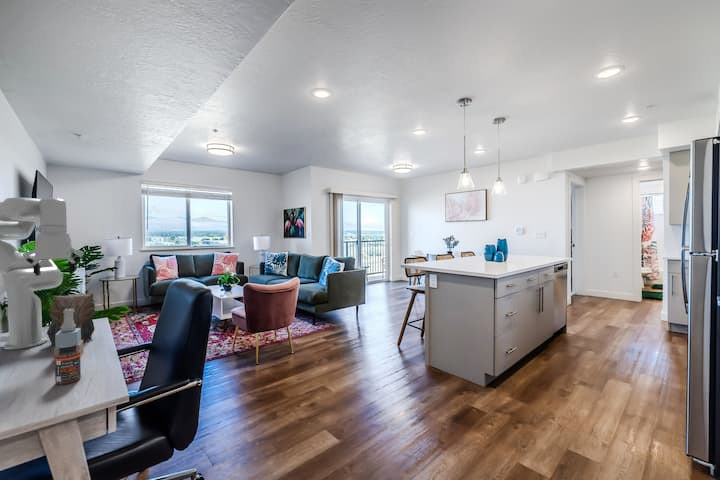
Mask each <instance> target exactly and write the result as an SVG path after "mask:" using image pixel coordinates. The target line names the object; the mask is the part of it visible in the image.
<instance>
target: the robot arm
mask: <svg viewBox="0 0 720 480" xmlns="http://www.w3.org/2000/svg"><path fill="white" fill-rule="evenodd" d="M67 219H68V218H67V203H66V201H65V199H62V198H55V197H54V198H53V197H52V198H51V197H48V198H47V197H45V198H36V197H35V198H32V197H21V196H20V197H17V196H16V197H8V198H5V199H4V200H3V201H0V274H3V278H2V279H3V282H2V283H3V286H4V289H5V290H4V291H5V293H6V299H7V315H8V317H7V319H8V335H2V336H0V343H4V342H5V344H4V345H3V349H4V350H8V351H9V350H10V351H12V350H15V351H16V350H21V349H29V348H33V347H36V346H40V345H43V344H46V343H47V342H48V341H49V340H48V338H49V337H46V336H43V322H42V321H43V317H42V300H41V298H40V297H39V296H38V295H37V294H35V293H34V292H35V291H36V292H37V291H40V290H41V291H42V290H49V289H54V288H57V287H59V286H60V285H62V283H63V278H64V277H63V274H62V272H61V270H60V269H59V267H58V266H57V265H56V264H55V262H54V261H53V260H57V261H58V260H67V261H68V262H70V263H69V265H68V266H69V267H68V268H69V274H71V275H72V274H74V272H76V263H77V262H78V261H79V260H81V259H82V257H83V256H84V254H85V252H84V251H82V250H80V249H76V248H74V247H73V245H72V240H71V236H70V233H68V227H67V225H68V224H67V223H68V222H67V221H68V220H67ZM38 222H39V226H38V227H36V226H37V224H38ZM33 231H34V232H39V234H38V233H37V235H36V237H35V238H36V239H35V245H34V246H35V247H34V249H32V250H29V251H27V252H20V251H18V248H16V247H15V246H14V245H12V244H11V243H9V242H6V241H17V240H18V241H19V240H20V241H21V240H26V239H28V238H29V237H30V236H31V234H32V233H33ZM73 253H75V254H77V255H76V256H75V258H74V257H73Z"/></svg>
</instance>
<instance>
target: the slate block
mask: <svg viewBox="0 0 720 480" xmlns="http://www.w3.org/2000/svg"><path fill="white" fill-rule="evenodd" d="M80 342H81V328H76V329H75V330H73V331H67V332H61V331H59V332H58V333H57V334H56V335H55V345H56V346H55V347H56V349H57V348H59V347H60V346H62V345H65V344H70V343H75V344H76V346H77V345H78V344H79V343H80Z"/></svg>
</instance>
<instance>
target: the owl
mask: <svg viewBox="0 0 720 480" xmlns="http://www.w3.org/2000/svg"><path fill="white" fill-rule="evenodd" d="M52 299H53V303H52V305H51V306H50V309H49V313H48V314H49V318H51V322H50V323H49V326H48V329H47V332H46V335H47V336H48V337H47V338H49V342H50V346H51V345H52V346H54V347H56V345H55V335H56V334H57V333H58V332H59V331H60V330H61V328H60V327H61V326H62V324H63V322H64V315H65V314H64V313H63V311H64V309H69V308H74V312H73V321H74V324H75V325H76V327H75V328H81V340H83V343H85V342H86V340H87V341H89V340H91V339H92V336H93V333H94V331H95V329H96V328H95V324H94V320H93V317H94V313H95V311H96V310H95V307H96V305H95V302H94V300H93V299H94V293H92V292H91V293H75V294H71V295H54V296H53V297H52ZM84 341H85V342H84ZM52 346H51V347H52Z"/></svg>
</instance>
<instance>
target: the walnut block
mask: <svg viewBox="0 0 720 480" xmlns="http://www.w3.org/2000/svg"><path fill="white" fill-rule="evenodd" d="M76 347H77V348H76V349H77V350H79V351H80V352H81V357H82V355H83V354H84V342H83V340H81V342H80V343H79V344H78V345H77V346H76ZM59 352H60V351H59V348H57V349H56V346H54V348H53V364H55V356H56V354H58V353H59Z"/></svg>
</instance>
